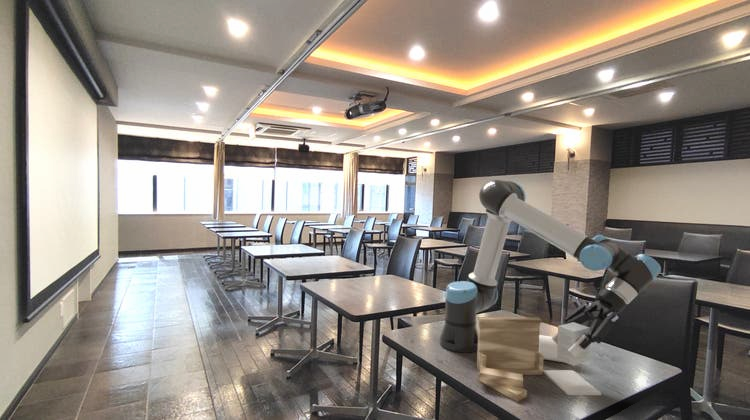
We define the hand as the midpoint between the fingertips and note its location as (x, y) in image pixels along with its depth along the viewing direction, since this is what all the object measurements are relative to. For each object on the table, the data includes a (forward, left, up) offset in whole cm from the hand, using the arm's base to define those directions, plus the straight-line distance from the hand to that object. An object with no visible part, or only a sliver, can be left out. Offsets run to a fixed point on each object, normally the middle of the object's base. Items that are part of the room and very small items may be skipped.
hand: (562, 347), depth 111 cm
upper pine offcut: (+3, -20, -9) cm, 22 cm away
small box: (0, +3, -4) cm, 5 cm away
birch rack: (-8, -13, -11) cm, 19 cm away
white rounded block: (-18, +8, -11) cm, 23 cm away
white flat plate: (0, +3, -11) cm, 12 cm away
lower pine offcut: (+3, -20, -12) cm, 23 cm away
